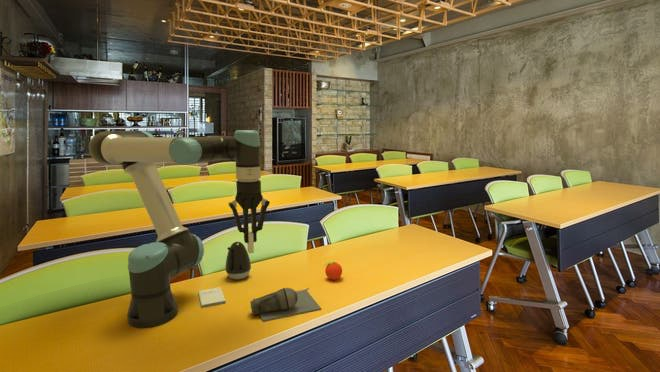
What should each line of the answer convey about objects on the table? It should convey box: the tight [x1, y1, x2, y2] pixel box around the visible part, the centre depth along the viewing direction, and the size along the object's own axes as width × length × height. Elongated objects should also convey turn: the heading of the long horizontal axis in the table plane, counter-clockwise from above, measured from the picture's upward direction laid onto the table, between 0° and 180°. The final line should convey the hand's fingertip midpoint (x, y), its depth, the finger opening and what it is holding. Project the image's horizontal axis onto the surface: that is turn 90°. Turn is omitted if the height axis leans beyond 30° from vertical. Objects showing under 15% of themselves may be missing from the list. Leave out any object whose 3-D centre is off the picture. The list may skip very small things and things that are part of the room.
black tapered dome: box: [224, 241, 252, 281], centre depth 153 cm, size 10×10×15 cm
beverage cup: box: [249, 287, 310, 316], centre depth 125 cm, size 7×7×20 cm
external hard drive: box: [197, 286, 227, 309], centre depth 136 cm, size 2×8×12 cm
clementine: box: [323, 261, 343, 281], centre depth 151 cm, size 8×7×7 cm
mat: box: [252, 289, 322, 322], centre depth 130 cm, size 20×16×1 cm
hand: (250, 251), depth 121 cm, fingers closed
